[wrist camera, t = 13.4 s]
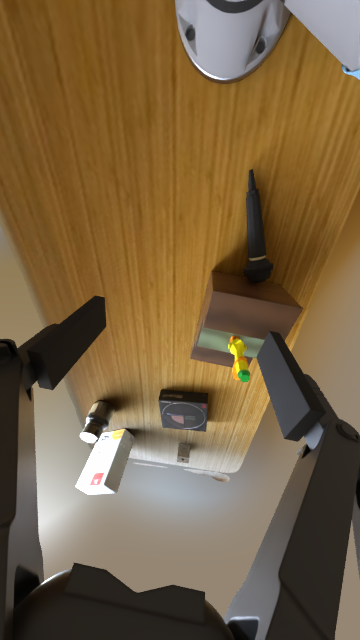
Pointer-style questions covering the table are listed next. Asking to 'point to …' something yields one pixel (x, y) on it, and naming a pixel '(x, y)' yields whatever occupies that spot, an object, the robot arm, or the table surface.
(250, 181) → the microphone
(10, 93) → the table surface
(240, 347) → the toy figure
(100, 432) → the ink bottle
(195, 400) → the portable cd player
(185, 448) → the dice cube
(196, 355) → the display shelf
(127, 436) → the hard drive box
